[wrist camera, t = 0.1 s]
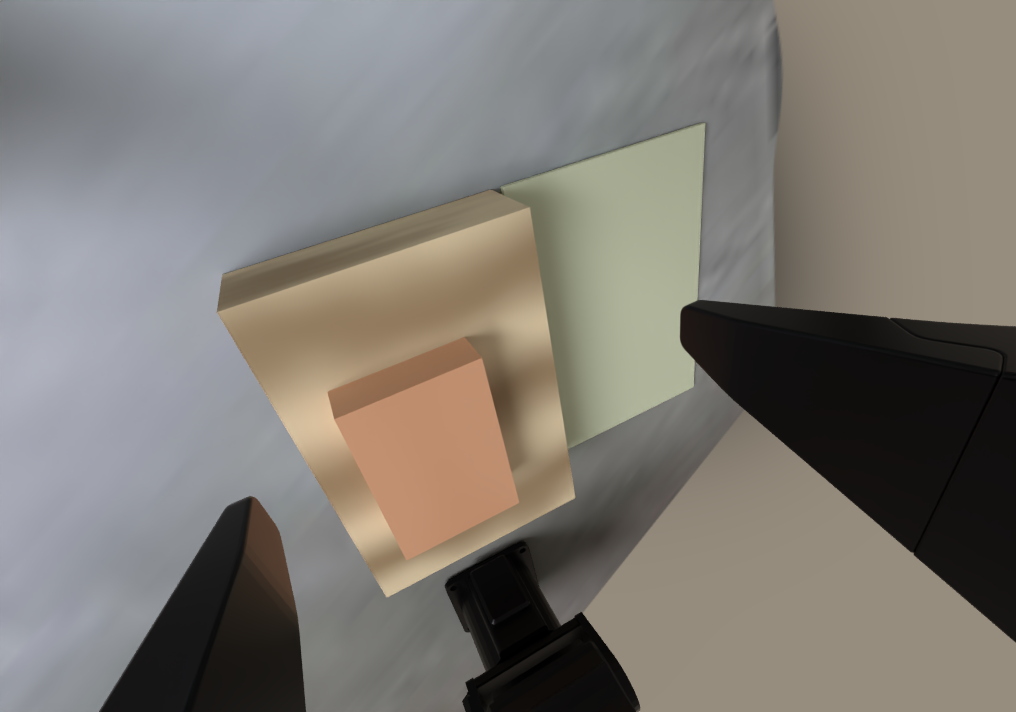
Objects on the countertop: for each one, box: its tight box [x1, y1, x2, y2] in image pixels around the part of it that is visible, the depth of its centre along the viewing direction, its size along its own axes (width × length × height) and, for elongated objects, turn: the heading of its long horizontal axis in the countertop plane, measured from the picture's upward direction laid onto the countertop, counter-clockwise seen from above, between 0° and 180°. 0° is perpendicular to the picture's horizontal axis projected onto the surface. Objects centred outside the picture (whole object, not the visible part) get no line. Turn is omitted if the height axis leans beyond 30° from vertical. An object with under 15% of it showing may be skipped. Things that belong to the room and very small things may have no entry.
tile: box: [327, 337, 519, 561], centre depth 22 cm, size 9×6×2 cm, turn 11°
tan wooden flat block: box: [217, 190, 575, 597], centre depth 24 cm, size 18×12×4 cm, turn 11°
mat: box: [500, 123, 705, 449], centre depth 29 cm, size 18×12×1 cm, turn 11°
